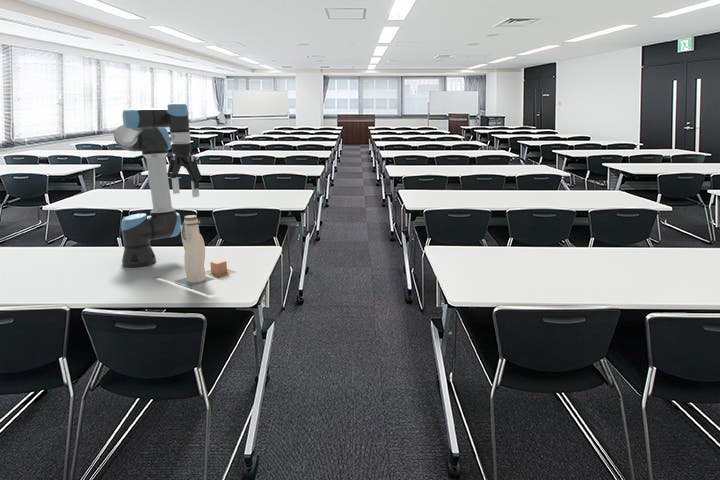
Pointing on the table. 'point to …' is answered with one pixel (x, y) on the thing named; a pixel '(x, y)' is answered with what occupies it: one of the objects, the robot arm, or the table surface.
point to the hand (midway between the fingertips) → (186, 195)
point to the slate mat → (185, 282)
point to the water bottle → (193, 249)
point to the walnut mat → (219, 274)
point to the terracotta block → (218, 266)
